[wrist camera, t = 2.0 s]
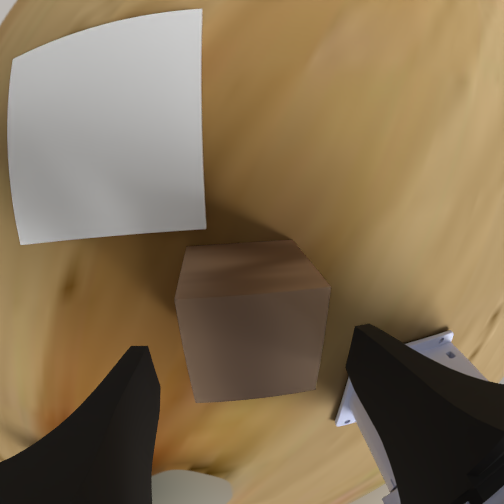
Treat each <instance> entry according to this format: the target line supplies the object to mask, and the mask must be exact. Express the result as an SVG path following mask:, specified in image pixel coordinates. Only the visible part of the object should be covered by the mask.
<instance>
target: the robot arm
mask: <svg viewBox="0 0 504 504" xmlns="http://www.w3.org/2000/svg"><path fill="white" fill-rule="evenodd" d="M452 338H453V332H452V331H451V330H449V331H446V332H443V333H440V334H436V335H433V336H430V337H427V338H424V339H420V340H417V341H413V342H410V343H406V344H404V343H402V342H400V341H399V340H397V339H395V338H394V337H392V336H390V335H389V334H387V333H385V332H384V331H382V330H380V329H378V328H377V327H375V326H373V325H371V324H365V325H359V326H355V329H354V333H353V338H352V342H351V347H350V351H349V355H348V360H347V364H346V370H347V373H348V375H349V377H348V381H347V384H346V388H345V391H344V395H343V398H342V401H341V404H340V408H339V411H338V414H337V417H336V420H335V424H336V426H343V425H347V424H351V423H354V422H357V424H358V426H359V428H360V431H361V433H362V435H363V437H364V439H365V441H366V443H367V445H368V447H369V449H370V451H371V453H372V455H373V457H374V459H375V461H376V464H377V466H378V468H379V470H380V472H381V474H382V476H383V478H384V480H385V482H386V485H387V486H388V489H389V491H390V494H388V495H387V496H385V497H383V498H382V500H383V502H384V504H504V384H498V383H493V382H489V381H488V380H487V379H486V378H485V377H484V376H483V375H482V374H481V373H480V372H479V370H478V369H477V368H476V367H475V366H474V365H473V364H472V363H471V362H470V361H469V360H468V359H467V358H466V357H465V356H464V355H463V354H462V353H461V352H460V351H459V350H458V349H457V348H456V347H455V346H454V345H453V344H452V343H451V340H452ZM159 412H160V384H159V381H158V378H157V375H156V372H155V368H154V365H153V362H152V359H151V355H150V352H149V348H148V346H131V347H130V348H129V349H128V350H127V352H126V353H125V354H124V355H123V356H122V358H121V359H120V360H119V361H118V363H117V364H116V365H115V366H114V367H113V369H112V370H111V371H110V372H109V374H108V375H107V376H106V377H105V378H104V380H103V381H102V382H101V383H100V384H99V386H98V387H97V388H96V389H95V390H94V391H93V392H92V393H91V395H90V396H89V397H88V398H87V399H86V400H85V401H84V402H83V403H82V404H81V405H80V406H79V407H78V408H77V409H76V410H75V411H74V412H73V413H72V414H71V415H70V416H69V417H68V418H67V419H66V420H65V421H63V422H62V423H61V424H60V425H59V426H58V427H56V428H55V429H54V430H52V431H51V432H50V433H48V434H47V435H46V436H44V437H43V438H42V439H40V440H39V441H38V442H36V443H35V444H33V445H32V446H30V447H28V448H27V449H25V450H24V451H22V452H20V453H18V454H16V455H15V456H13V457H11V458H9V459H7V460H4V461H2V462H0V504H152V493H151V492H152V491H151V471H152V460H153V453H154V446H155V439H156V432H157V426H158V419H159Z"/></svg>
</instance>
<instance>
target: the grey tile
mask: <svg viewBox="0 0 504 504" xmlns="http://www.w3.org/2000/svg"><path fill="white" fill-rule="evenodd" d="M202 20H203V14H202V9H191V10H180V11H171V12H164V13H157V14H150V15H144V16H139V17H134V18H129V19H124V20H120V21H115V22H111V23H107V24H103V25H100V26H96V27H93V28H89V29H86V30H83V31H80V32H77V33H74V34H71V35H68V36H65V37H62V38H60V39H57V40H54V41H52V42H49V43H47V44H44V45H42V46H40V47H37V48H35V49H33V50H31V51H28V52H26V53H24V54H22V55H20V56H18V57H16V58H14V59H13V61H12V68H11V76H10V86H9V98H8V119H7V141H8V163H9V176H10V186H11V194H12V201H13V208H14V214H15V220H16V225H17V230H18V235H19V240H20V244H21V245H26V244H35V243H45V242H54V241H64V240H74V239H84V238H95V237H106V236H118V235H130V234H143V233H156V232H169V231H184V230H199V229H206V226H207V222H206V205H205V187H204V164H203V135H202Z"/></svg>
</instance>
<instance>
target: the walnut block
mask: <svg viewBox="0 0 504 504" xmlns="http://www.w3.org/2000/svg"><path fill="white" fill-rule="evenodd" d="M330 291H331V286H330V285H329V284H328V282H327V281H326V280H325V279H324V277H323V276H322V275H321V274H320V273H319V271H318V270H317V269H316V268H315V266H314V265H313V264H312V263H311V261H310V260H309V259H308V258H307V257H306V255H305V254H304V253H303V252H302V251H301V249H300V248H299V247H298V246H297V245H296V243H295V242H294V241H293V240H279V241H262V242H245V243H229V244H213V245H198V246H187V247H186V251H185V255H184V259H183V263H182V268H181V272H180V276H179V281H178V285H177V290H176V294H175V299H174V300H175V306H176V312H177V318H178V323H179V329H180V334H181V339H182V344H183V349H184V354H185V359H186V363H187V368H188V372H189V377H190V381H191V385H192V390H193V394H194V398H195V402H196V403H206V402H223V401H236V400H247V399H256V398H265V397H273V396H280V395H287V394H293V393H299V392H305V391H311V390H315V389H316V384H317V378H318V373H319V367H320V361H321V355H322V349H323V343H324V336H325V330H326V323H327V315H328V308H329V300H330Z"/></svg>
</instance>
